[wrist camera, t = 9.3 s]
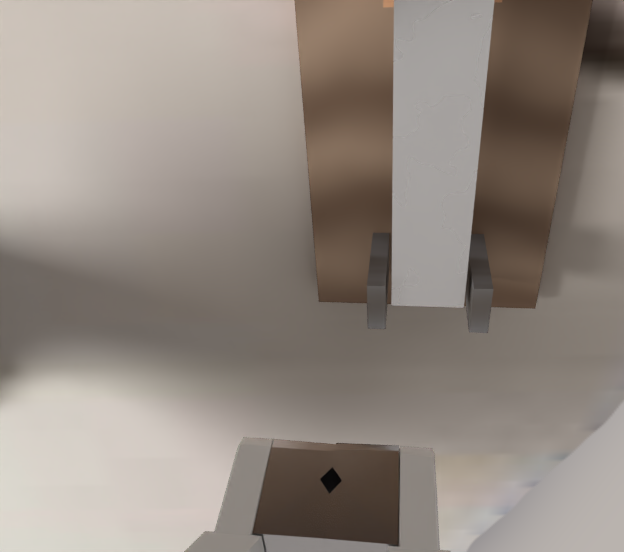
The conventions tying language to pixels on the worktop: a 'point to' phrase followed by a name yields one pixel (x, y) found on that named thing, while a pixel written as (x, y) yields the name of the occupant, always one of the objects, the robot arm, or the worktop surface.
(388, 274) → the latch base
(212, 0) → the worktop surface
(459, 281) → the latch lever
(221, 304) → the worktop surface
